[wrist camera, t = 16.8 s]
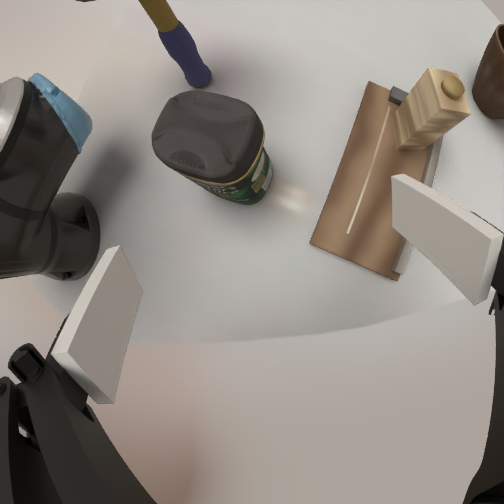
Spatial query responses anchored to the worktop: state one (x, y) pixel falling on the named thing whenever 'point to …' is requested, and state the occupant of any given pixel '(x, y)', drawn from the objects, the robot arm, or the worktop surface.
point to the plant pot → (491, 77)
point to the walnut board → (372, 188)
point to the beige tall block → (430, 110)
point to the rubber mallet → (176, 41)
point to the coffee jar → (214, 145)
